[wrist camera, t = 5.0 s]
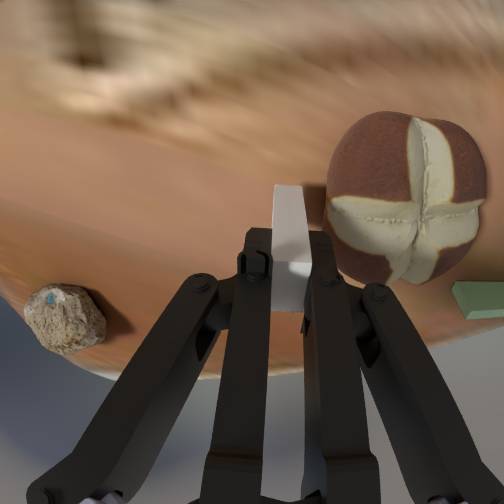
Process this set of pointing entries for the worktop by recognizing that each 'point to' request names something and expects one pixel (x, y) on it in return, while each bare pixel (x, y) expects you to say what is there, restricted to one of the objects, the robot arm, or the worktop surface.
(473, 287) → the mint green tray
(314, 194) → the worktop surface
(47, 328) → the rock
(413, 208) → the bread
